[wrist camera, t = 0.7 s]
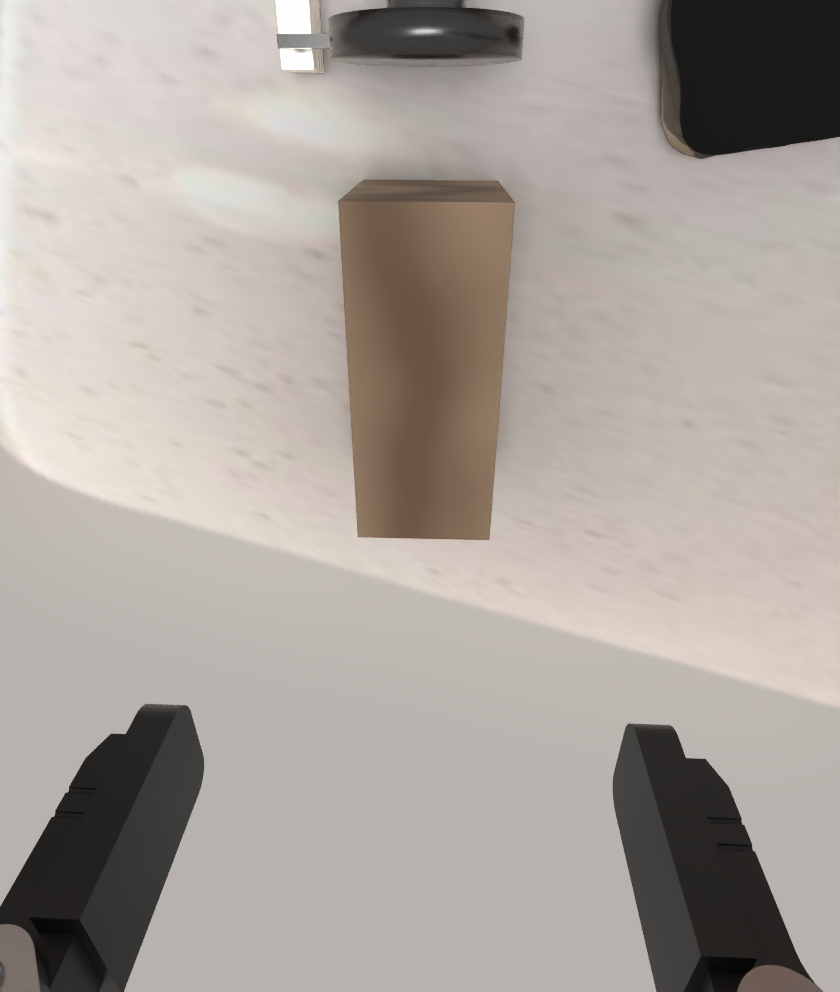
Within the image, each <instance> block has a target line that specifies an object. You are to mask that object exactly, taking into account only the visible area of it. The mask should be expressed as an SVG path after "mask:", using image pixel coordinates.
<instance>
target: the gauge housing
mask: <svg viewBox="0 0 840 992" xmlns="http://www.w3.org/2000/svg"><path fill="white" fill-rule="evenodd" d="M276 10H277V20H278V31H279V34H322V33H321V19H320V4H319V0H276ZM280 52H281V62H282V69H283V70H287V71H290V72H294V73H324V63H323V49H299V52H287V51H284V50H282V49H280Z"/></svg>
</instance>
